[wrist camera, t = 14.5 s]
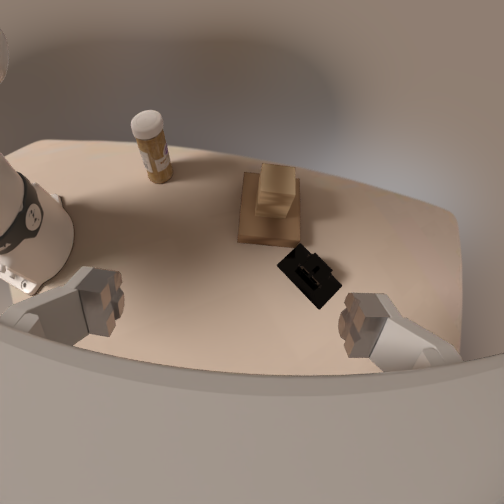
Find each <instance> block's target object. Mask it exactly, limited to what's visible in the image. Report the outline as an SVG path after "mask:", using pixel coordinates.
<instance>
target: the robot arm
mask: <svg viewBox="0 0 504 504" xmlns="http://www.w3.org/2000/svg"><path fill="white" fill-rule="evenodd" d="M8 61H9V48H8V42H7V39H6V37H5V34H4V33H3V31H2V30H1V29H0V83H1V82H2V81H3V79H4V78H5V75H6V71H7V68H8ZM73 239H74V228H73V223H72V220H71V218H70V216H69V215H68V213H67V212H66V211H65V210H64V209H63V207H62V201H61V198H60V197H59V196H58V195H57V194H52V195H50V194H49V193H48V192H46V191H45V190H44V189H43V188H42V187H41V186H40V185H39V184H37V183H32V184H31V183H30V181H29V180H28V179H27V178H26V177H25V176H23V175H22V174H21V173H19V172H16V171H15V169H14V168H13V167H12V166H11V165H10V163H9V162H8V161H7V160H6V159H5V157H4V156H3V155H2V154H1V152H0V278H1V279H2V280H4V281H6V282H7V283H9V284H11V285H12V286H14V287H16V288H17V289H19V290H21V291H22V292H24V293H26V294H28V295H30V296H31V295H33V294H34V293H35V292H36V291H37V290H38V289H39V287H40V286H41V284H43V283H44V282H45V281H47V280H49V279H50V278H52V277H53V276H54V275H56V274H57V273H58V272H59V271H60V269H61V268H62V267H63V265H64V264H65V262H66V261H67V259H68V257H69V254H70V252H71V249H72V245H73ZM121 284H122V276H121V273H120V272H119V271H115V270H108V269H102V268H95V267H89V266H82V267H81V268H80V269H79V270H78V271H77V272H76V273H75V274H74V275H73V276H72V277H71V278H70V279H69V281H68V282H67V283H66V284H65V285H64V286H63V287H61V286H59V287H56V288H54V289H51V290H48V291H46V292H43V293H41V294H38V295H36V296H33V297H31V298H28V299H26V300H23V301H21V302H18V303H16V304H13V305H11V306H9V307H8V308H7V309H6V310H5V312H4V313H3V314H2V315H1V316H0V504H504V353H502V354H498V355H493V356H489V357H484V358H480V359H476V360H470V361H465V362H464V360H463V359H462V358H461V356H460V355H459V353H458V352H457V350H456V349H455V348H454V346H453V345H452V344H450V343H448V342H447V341H445V340H443V339H442V338H440V337H438V336H436V335H435V334H433V333H431V332H430V331H428V330H426V329H425V328H423V327H421V326H420V325H418V324H416V323H415V322H413V321H411V320H409V319H408V318H403V317H402V315H401V314H400V313H399V311H398V310H397V308H396V307H395V305H394V304H393V303H392V301H391V300H390V298H389V297H388V296H387V295H386V294H384V293H348V295H347V296H346V299H345V302H344V303H345V306H346V309H344V310H343V311H342V312H341V314H340V317H339V323H338V330H339V334H340V337H341V338H342V339H344V340H345V343H344V347H345V350H346V352H347V355H348V357H349V358H369V359H370V360H371V361H372V362H373V363H374V364H376V365H377V366H378V367H379V368H380V369H381V370H382V371H383V372H382V373H369V374H352V375H317V376H298V375H263V374H245V373H231V372H219V371H209V370H200V369H191V368H183V367H176V366H169V365H162V364H156V363H150V362H144V361H138V360H133V359H128V358H122V357H118V356H113V355H108V354H103V353H99V352H95V351H90V350H86V349H82V348H78V347H74V346H73V345H74V344H76V343H77V342H79V341H80V340H82V339H83V338H84V337H86V336H87V335H89V334H94V335H100V336H106V337H110V335H111V333H112V332H113V330H114V328H115V326H116V323H115V320H117V319H118V318H120V317H121V315H122V313H123V309H124V293H123V291H122V290H121V289H120V285H121ZM25 285H26V287H25ZM88 333H89V334H88Z"/></svg>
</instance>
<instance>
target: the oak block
mask: <svg viewBox="0 0 504 504" xmlns="http://www.w3.org/2000/svg"><path fill="white" fill-rule="evenodd" d="M295 195H296V193H295V167H289V166H281V165H273V164H265V163H262V168H261V172H260V177H259V182H258V187H257V194H256V208H255V216H261V217H270V218H280V219H285V218H286V216H287V213H288V211H289V209H290V206H291V204H292V202H293V200H294V197H295Z"/></svg>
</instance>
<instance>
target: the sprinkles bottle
mask: <svg viewBox="0 0 504 504" xmlns="http://www.w3.org/2000/svg"><path fill="white" fill-rule="evenodd" d="M131 129H132V132H133V135H134V136H135V138H136V140H137V144H138V148H139V151H140V154H141V157H142V160H143V163H144V165H145V168H146V169H147V172H148V178H149V179H150V181H152V182H153V183H158V184H160V183H163V182H165V181H167V180H169V179H170V177H171V176H172V173H173V169H172V167H171V163H170V157H169V153H168V148H167V144H166V141H165V136H164V131H163V120H162V116H161V114H160V113H159V112H157V111H154V110H147V111H143V112H141V113H139V114H137V115H136V116H135V117H134V118H133V119H132V121H131Z"/></svg>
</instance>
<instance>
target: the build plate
mask: <svg viewBox="0 0 504 504" xmlns="http://www.w3.org/2000/svg"><path fill="white" fill-rule="evenodd" d="M277 267H278V268H279V269H280V270H281V271H282V272H283V273H284V274H285V275H286V276H287V277H288V278H289V279H290V280H291V281H292V282H293V283H294V284H295V285H296V286H297V287H298V288H299V289H300V291H301V292H302V293H303V294H304V295H305V296H306V297H307V298H308V299H309V300H310V301H311V302H312V303H313V304H314V305H315V306H316V307H317V308H318V309H321V308H322V307H323V306H324V305H325V304H326V303H327V301H328V300H329V299H330V298H331V297H332V296H333V295H334V294H335V293H336V292H337V291H338V290H339V289H340V288H341V287H342V285H341V284H340V283H339V282H338V281H337V280H336V279H335V278H334V276H333V275H332V273H331V272H332V271H333V270H332V269H331V268H330V267H329V266H328V265H327V264H326V263H325V262H324V261H323V260H322V259H321V258H320V257H319V256H318V255H317V254H316V253H314V254H311V253H310V252H309V251H308V250H307V249H306V248H305V247H304V246H303V245H302V244H301V243H300V244H299V245H298V246H296V248H294V249H293V250H292V251H291V252H290V253H289V254H288V255H287V256H286V257H285V258H284V259H283V260H282V261H281V262H279V263H278V264H277Z"/></svg>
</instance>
